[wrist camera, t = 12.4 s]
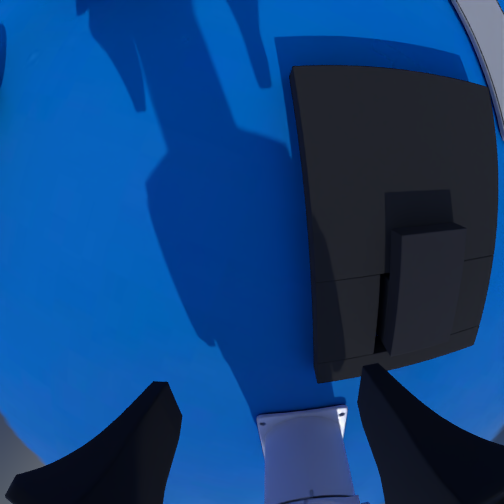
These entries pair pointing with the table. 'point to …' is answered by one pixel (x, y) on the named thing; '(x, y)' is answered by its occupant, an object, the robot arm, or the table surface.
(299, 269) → the table surface
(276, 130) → the table surface
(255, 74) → the table surface
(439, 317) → the pad
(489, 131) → the base pad
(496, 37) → the smartphone
